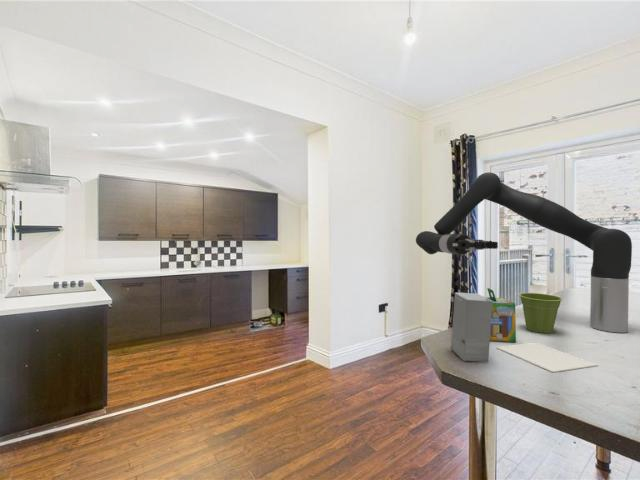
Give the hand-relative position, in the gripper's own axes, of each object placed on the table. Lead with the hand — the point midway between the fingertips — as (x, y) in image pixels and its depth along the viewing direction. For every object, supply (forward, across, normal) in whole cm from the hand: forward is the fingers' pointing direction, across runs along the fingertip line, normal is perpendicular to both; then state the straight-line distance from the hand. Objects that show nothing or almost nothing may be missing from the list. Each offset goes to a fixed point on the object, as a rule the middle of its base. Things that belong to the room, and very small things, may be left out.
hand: (490, 245), depth 99 cm
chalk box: (+4, -2, +28) cm, 29 cm away
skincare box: (+14, -20, +28) cm, 37 cm away
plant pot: (+2, +18, +28) cm, 33 cm away
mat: (+20, -2, +28) cm, 34 cm away
